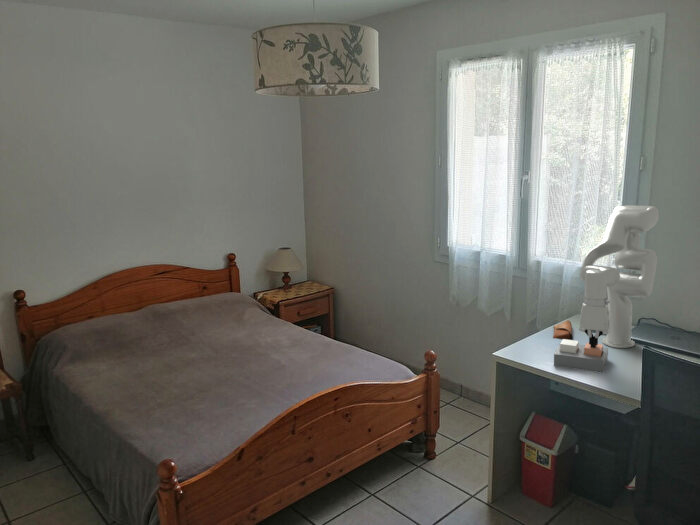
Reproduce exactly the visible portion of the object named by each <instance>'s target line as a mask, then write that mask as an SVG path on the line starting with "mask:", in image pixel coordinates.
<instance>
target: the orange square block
mask: <svg viewBox="0 0 700 525" xmlns="http://www.w3.org/2000/svg"><path fill="white" fill-rule="evenodd" d="M603 348H604V344H602V343H601V344H600V343H598V345H596V347H595V348H594V347H591V345H590V344H589V342H586V343H585V347H584V355H592V356H600V357H601V356H602V353H603Z"/></svg>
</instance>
